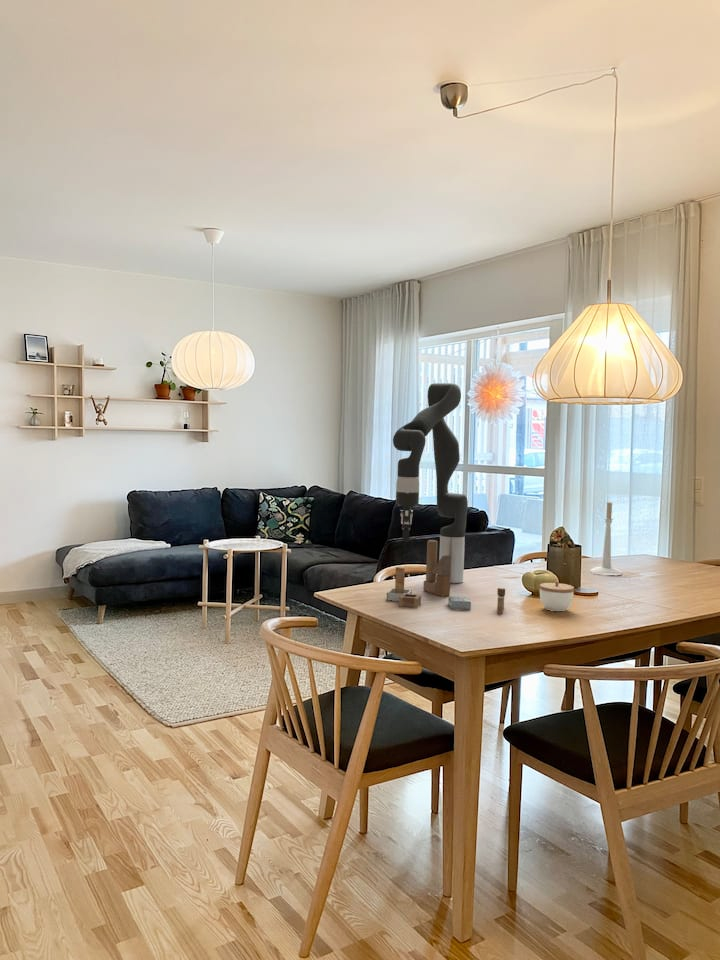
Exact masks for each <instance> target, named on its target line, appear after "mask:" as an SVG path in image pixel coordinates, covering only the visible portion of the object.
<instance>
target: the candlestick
mask: <svg viewBox="0 0 720 960" xmlns="http://www.w3.org/2000/svg"><path fill="white" fill-rule="evenodd" d="M612 511H613V502H611V501H607V502H606V517H604V520H605V522H604V523H605V524H606V525H605V530H604V531H605V532H604V534H605V535H604V541H603V551H602V559H601V560H602V561H601V566H596V567H593V568H591V569H590V570H589V572H590V571H592V572H597V573H620V572H622V571H621V570H620V569H618V568H616V567H612V555H611V553H612V548H611V547H612V545H611V544H612V532H611V531H612V526H611V525H612V523H613V520H614V518H612V515H613V514H612Z"/></svg>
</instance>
